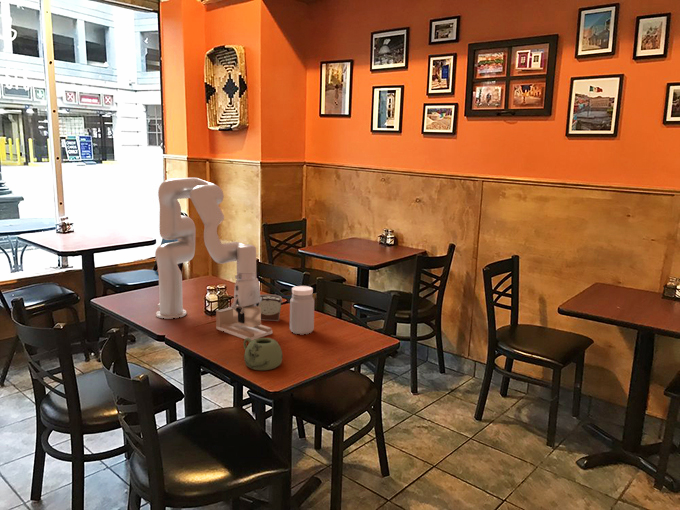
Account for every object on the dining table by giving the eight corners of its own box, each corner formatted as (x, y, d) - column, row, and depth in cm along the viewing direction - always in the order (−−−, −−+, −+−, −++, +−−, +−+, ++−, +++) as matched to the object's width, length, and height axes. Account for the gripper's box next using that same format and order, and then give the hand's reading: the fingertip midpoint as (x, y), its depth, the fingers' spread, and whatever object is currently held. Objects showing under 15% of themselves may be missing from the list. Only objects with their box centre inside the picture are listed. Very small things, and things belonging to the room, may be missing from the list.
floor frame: (216, 328, 217) (216, 310, 216) (239, 322, 226) (239, 304, 225) (249, 340, 205) (249, 321, 203) (272, 333, 214) (272, 315, 212)
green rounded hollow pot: (290, 364, 184) (290, 340, 182) (263, 375, 173) (263, 350, 172) (257, 352, 193) (257, 329, 191) (229, 363, 183) (229, 338, 181)
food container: (285, 316, 236) (285, 294, 234) (282, 321, 230) (282, 298, 228) (257, 315, 237) (257, 293, 235) (253, 319, 231) (254, 296, 229)
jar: (285, 333, 214) (285, 289, 211) (295, 326, 223) (296, 284, 220) (308, 336, 211) (308, 292, 208) (317, 329, 220) (318, 286, 217)
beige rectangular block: (250, 327, 208) (250, 310, 207) (233, 321, 215) (233, 304, 214) (260, 324, 212) (260, 307, 211) (243, 318, 219) (243, 302, 218)
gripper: (235, 281, 201) (236, 327, 205) (269, 274, 214) (269, 318, 218) (222, 278, 206) (223, 323, 209) (256, 271, 219) (256, 314, 222)
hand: (246, 320), depth 213 cm, fingers closed on beige rectangular block, 5 cm apart
